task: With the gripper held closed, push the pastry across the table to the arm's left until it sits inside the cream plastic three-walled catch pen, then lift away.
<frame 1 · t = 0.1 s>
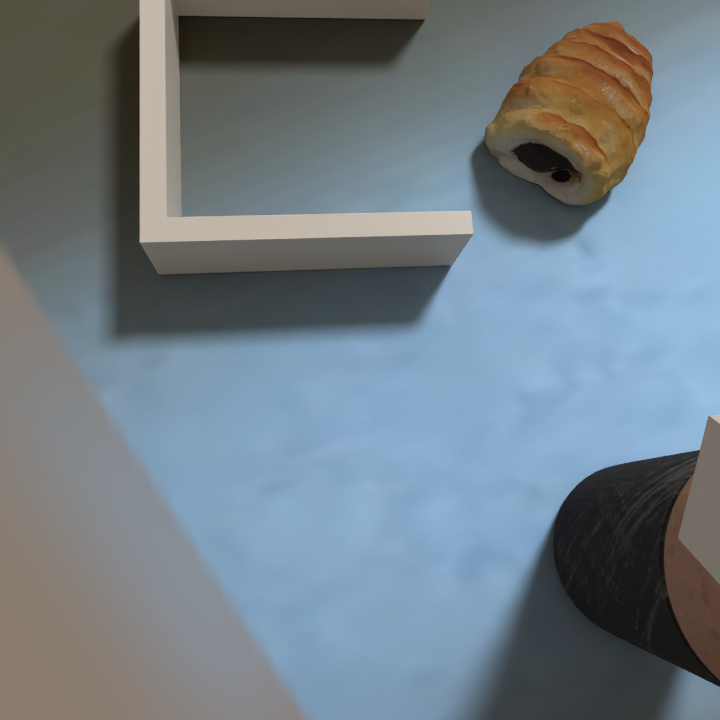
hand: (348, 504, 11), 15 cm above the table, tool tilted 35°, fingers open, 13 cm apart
catch pen: (300, 128, 30), on the table
travel mug: (630, 548, 27), on the table
pastry: (559, 131, 32), on the table
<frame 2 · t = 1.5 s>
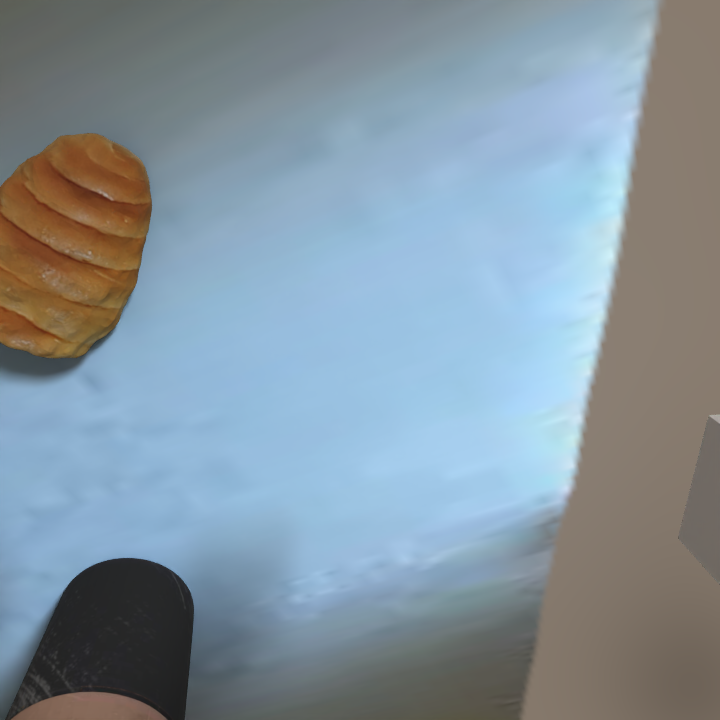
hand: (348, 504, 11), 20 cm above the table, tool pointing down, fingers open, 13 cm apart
travel mug: (129, 606, 35), on the table
pastry: (62, 246, 28), on the table
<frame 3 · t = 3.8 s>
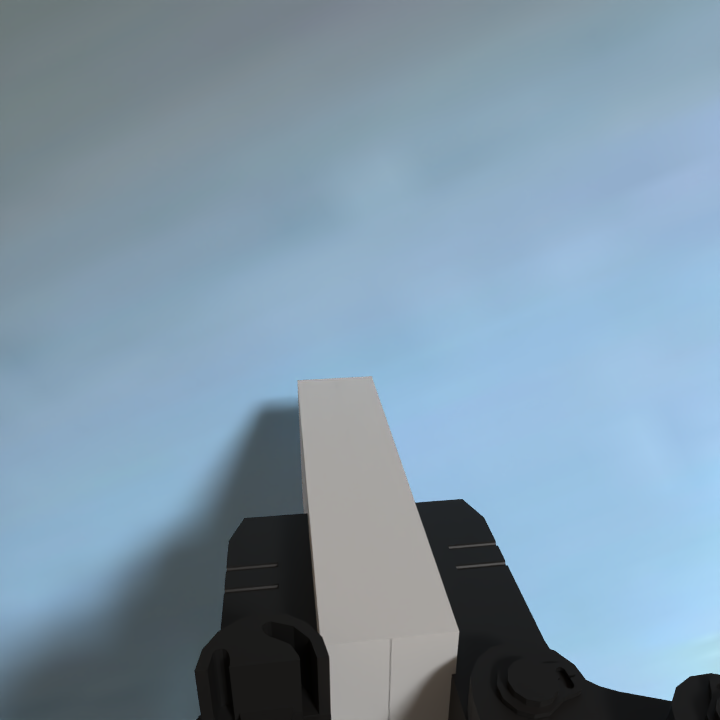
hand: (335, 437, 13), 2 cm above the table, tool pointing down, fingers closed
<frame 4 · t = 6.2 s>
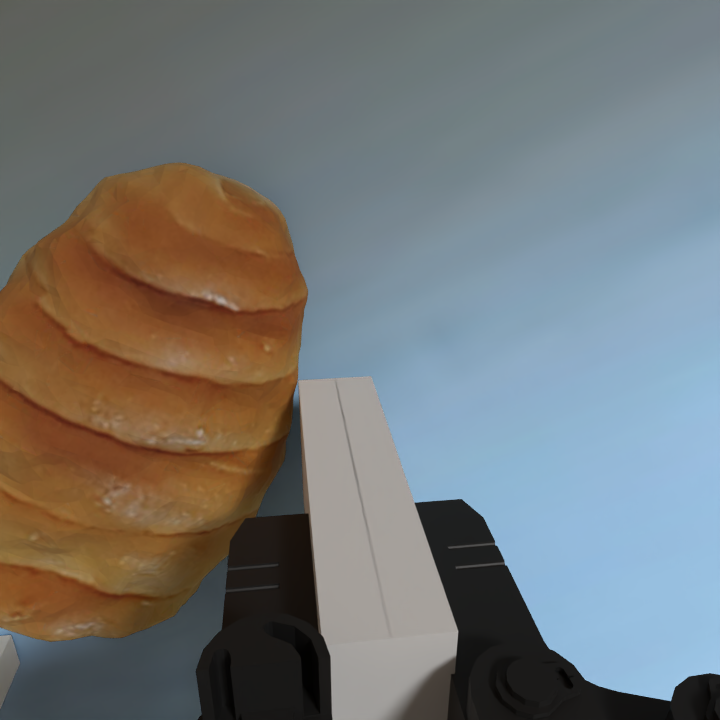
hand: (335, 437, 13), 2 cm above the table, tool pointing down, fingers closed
pastry: (128, 388, 14), on the table
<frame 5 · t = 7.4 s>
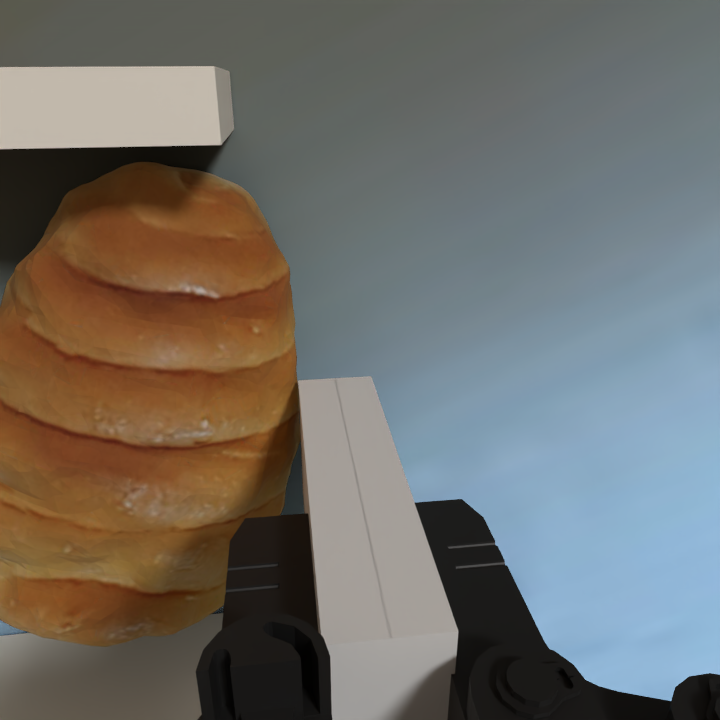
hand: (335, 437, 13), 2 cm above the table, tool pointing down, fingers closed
pastry: (142, 395, 14), on the table, touching gripper
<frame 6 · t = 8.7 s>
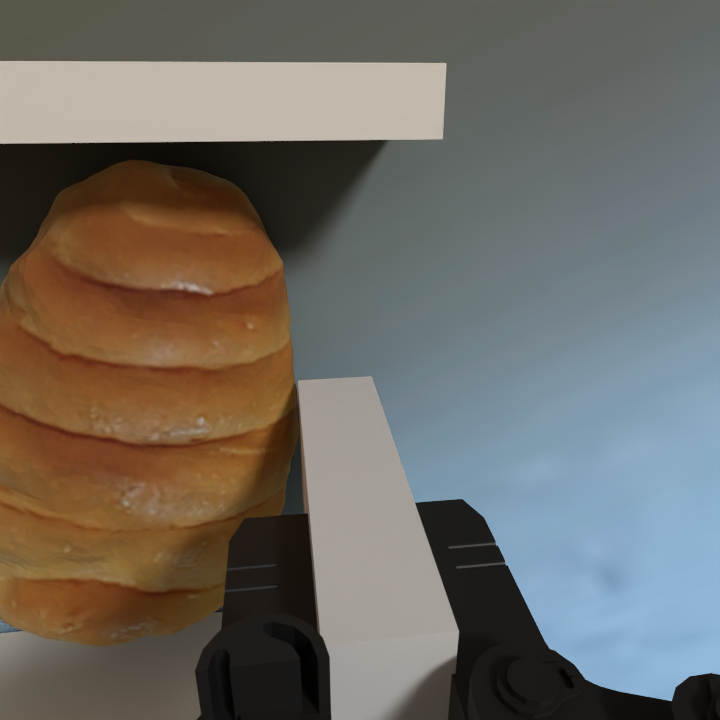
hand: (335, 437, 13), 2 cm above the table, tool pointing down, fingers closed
catch pen: (102, 415, 14), on the table
pastry: (141, 395, 14), on the table
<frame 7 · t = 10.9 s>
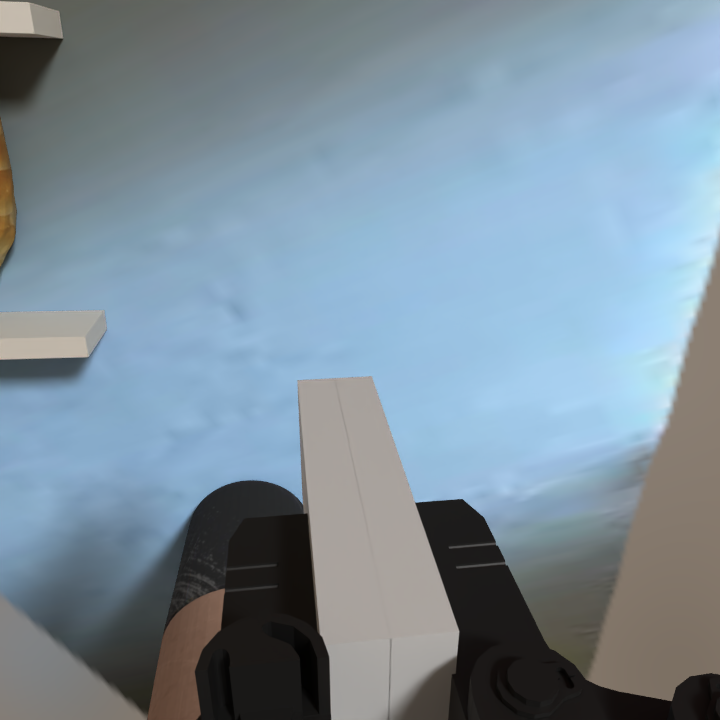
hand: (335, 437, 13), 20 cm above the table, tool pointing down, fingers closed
travel mug: (250, 526, 38), on the table
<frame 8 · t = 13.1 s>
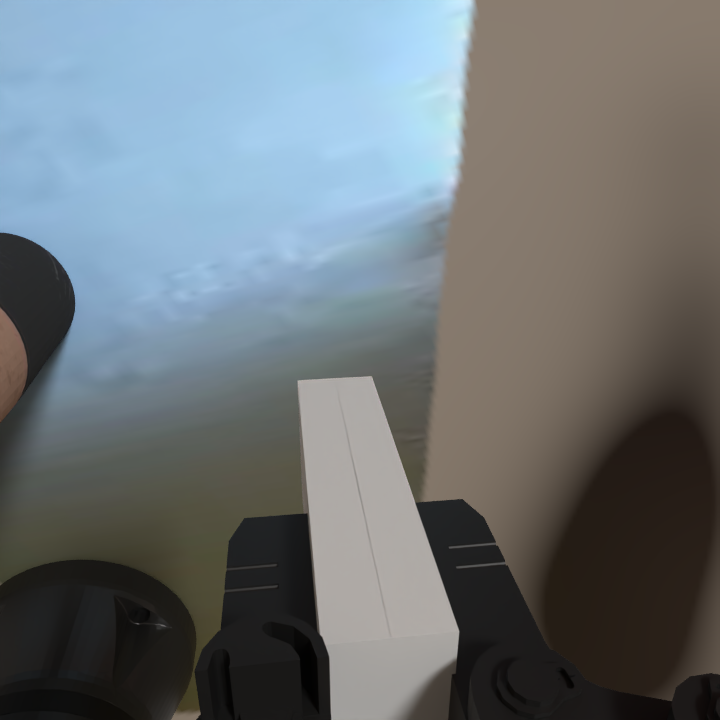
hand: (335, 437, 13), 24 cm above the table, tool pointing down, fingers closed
travel mug: (9, 294, 35), on the table
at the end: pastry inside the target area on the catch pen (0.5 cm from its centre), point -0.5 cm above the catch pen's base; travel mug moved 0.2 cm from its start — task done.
